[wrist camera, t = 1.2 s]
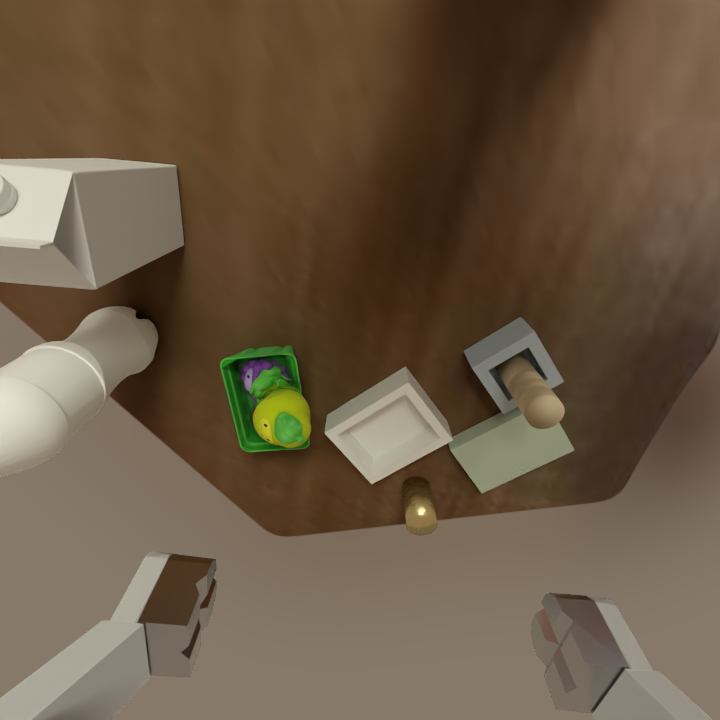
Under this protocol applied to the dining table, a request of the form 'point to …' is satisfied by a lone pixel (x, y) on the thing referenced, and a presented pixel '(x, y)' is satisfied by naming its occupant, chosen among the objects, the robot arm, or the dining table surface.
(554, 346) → the dining table surface
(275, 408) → the fruit basket
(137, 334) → the water bottle
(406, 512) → the cylinder
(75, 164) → the milk carton
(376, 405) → the tray
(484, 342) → the socket block
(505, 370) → the dowel
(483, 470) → the plate board
